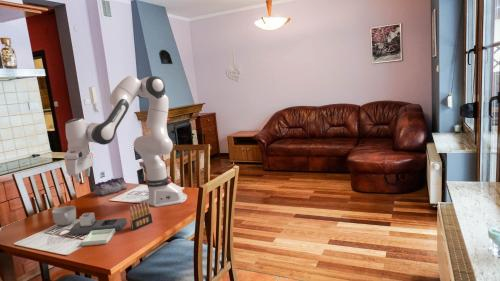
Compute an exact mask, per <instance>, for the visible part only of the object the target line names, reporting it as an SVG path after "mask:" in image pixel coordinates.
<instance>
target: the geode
mask: <svg viewBox="0 0 500 281" xmlns="http://www.w3.org/2000/svg"><path fill="white" fill-rule="evenodd" d="M126 184H127V182H126V180H125V179H124V177H123V176H121V177H119V178H118V177H116V178H110V179H107V181H101V182H97V183H96V184H93V185H92V189H93V195H94V196H101V197H102V196H106V195H109V194H115V193H119V192H120V191H122V190H127V185H126Z"/></svg>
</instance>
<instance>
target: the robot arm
mask: <svg viewBox="0 0 500 281" xmlns="http://www.w3.org/2000/svg"><path fill="white" fill-rule="evenodd" d="M136 98H141V99H148V101H149V105H148V112H147V117H146V126H147V127H148V128H149V130H150V135H140V136H138V137H136V138H135V140H134V141H133V149H134V150H135V152H136V153H137V154H138V155H139V156H140V158H141V159H142V161H143V164H144V166H145V171H146V178H147V179H146V186H147V190H148V198H147V199H148V200H147V201H148V204H149V205H150V206H153V207H155V208H159V207H167V206H171V205H172V206H173V205H177V204H178V205H179V204H182V203H184V202H185V201H187V199H188V195H187V194H186V193H184V192H183V189H182V187H181V186H179V185H177V184H175V183H174V182H173V181H172V177H171V176H168V172H167V165H166V162H165V161H163V159H162V158H161V156H166V155H169V154H171V152H172V151H173V148H174V143H173V141H172V139H171V138H170V137H169V134H168V129H167V126H168V125H167V124H168V116H169V109H170V108H169V105H170V104H169V102H170V101H169V100H170V99H169V96H167V95H166V85H165V82H164V80H163V79H162V77H159V76H157V75H155V76H154V75H153V76H147V77H144V78H141V79H138V78H137V77H136V76H135V75H128V76H126V77H125V78H123V79H122V80H121V81H120V82H119V83H117V85H116V86H115V87H114V88H113V90H112V91H111V93H110V96H109V102H110V104H111V105H112V106H113V107H112V110H111V112H110V113H109V115H108V116H107V118H106V119H105V120H104V121H103V122H101V123H97V122H92V121H88V120H86V119H84V118H83V117H75V118H71V119H68V120H67V121H66V122H65V136H66V137H65V138H66V140H67V151H66V153H64V155H63V159H64V160H65V169H66V173H67V175H68V176H73V178H74V179H75V183H76V184H77V183H81V181H82V180H81V178H80V173H82V172H84V173H83V174H84V177H85V178H89V177H90V171H91V167H93V166H94V158H93V155H92V153H91V152H90V150H89V143H94V144H95V143H96V144H99V145H103V146H104V145H108V144H111V143H112V142H113V141H114V139H115V136H116V131H117V130H118V127H119V125H120V124H121V123H122V121H123V119H124V117H125V115H126V114H127V112H128V111H129V108H130V106H131V104H132V103H133V102H134V100H135V99H136Z"/></svg>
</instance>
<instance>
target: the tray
mask: <svg viewBox="0 0 500 281" xmlns="http://www.w3.org/2000/svg"><path fill="white" fill-rule="evenodd" d="M115 234H116V231H115V229H105V230H94V231H91V232H90V233H89V234H86V236H85V237H84V238H83V239H82V241H81V243H80V244H81V247H86V246H98V245H108V243H109V242H110V241H111V239H112V238H113V236H115Z"/></svg>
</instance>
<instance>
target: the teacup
mask: <svg viewBox="0 0 500 281" xmlns="http://www.w3.org/2000/svg"><path fill="white" fill-rule="evenodd" d="M76 208H77V207H76V206H74V205H66V206H60V207H57V208H55V209H53V210H52V211H51V214H52V219H53V222H54V223H55V224H56V225H58V226H59V227H61V226H62V227H63V226H68V225H72V224H73V223H74V221H76V219H77V209H76Z"/></svg>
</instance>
